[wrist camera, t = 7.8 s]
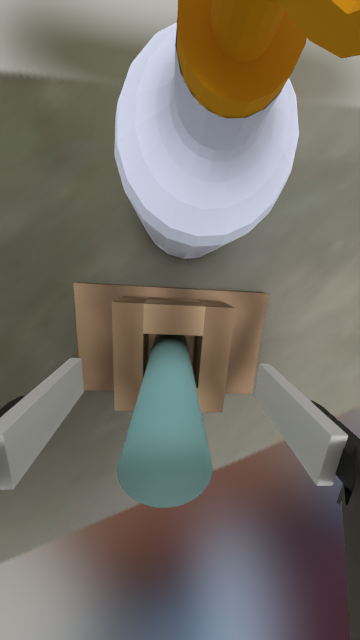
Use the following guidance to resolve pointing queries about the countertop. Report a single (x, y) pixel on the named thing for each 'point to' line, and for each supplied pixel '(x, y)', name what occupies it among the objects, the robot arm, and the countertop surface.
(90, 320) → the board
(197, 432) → the peg
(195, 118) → the soap bottle
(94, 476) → the countertop surface
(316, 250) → the countertop surface
